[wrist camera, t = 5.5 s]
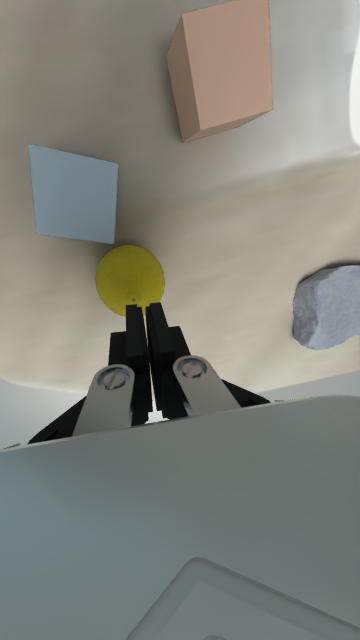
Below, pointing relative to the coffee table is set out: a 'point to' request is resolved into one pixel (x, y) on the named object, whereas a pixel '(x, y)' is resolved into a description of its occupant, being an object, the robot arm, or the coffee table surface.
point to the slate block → (73, 195)
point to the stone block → (327, 307)
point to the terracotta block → (221, 67)
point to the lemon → (129, 278)
